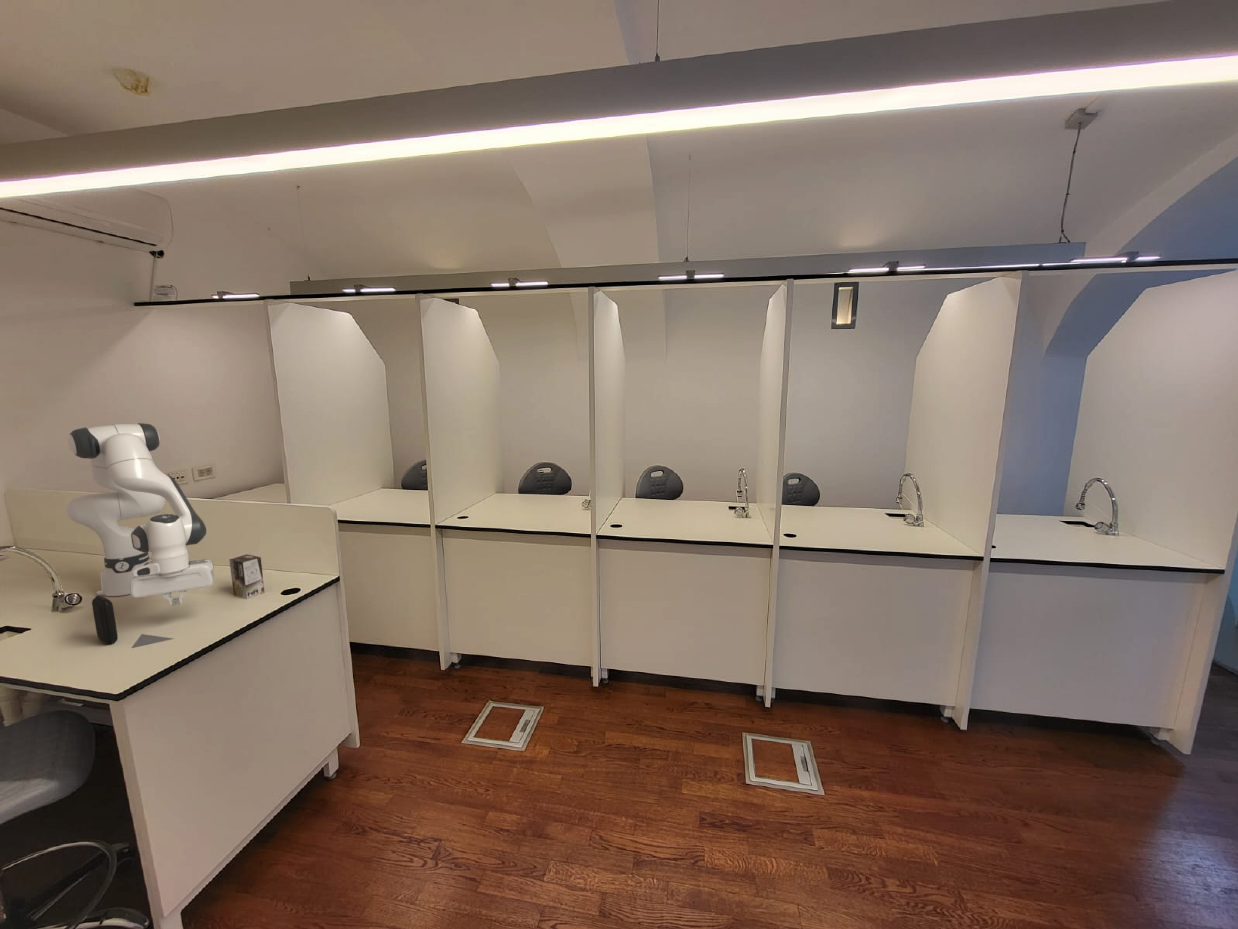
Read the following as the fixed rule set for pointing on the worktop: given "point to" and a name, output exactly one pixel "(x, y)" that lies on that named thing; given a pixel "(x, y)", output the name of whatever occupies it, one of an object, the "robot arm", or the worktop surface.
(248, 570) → the coffee box
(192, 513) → the robot arm
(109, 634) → the carrying case or bag
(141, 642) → the mat
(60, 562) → the worktop surface
